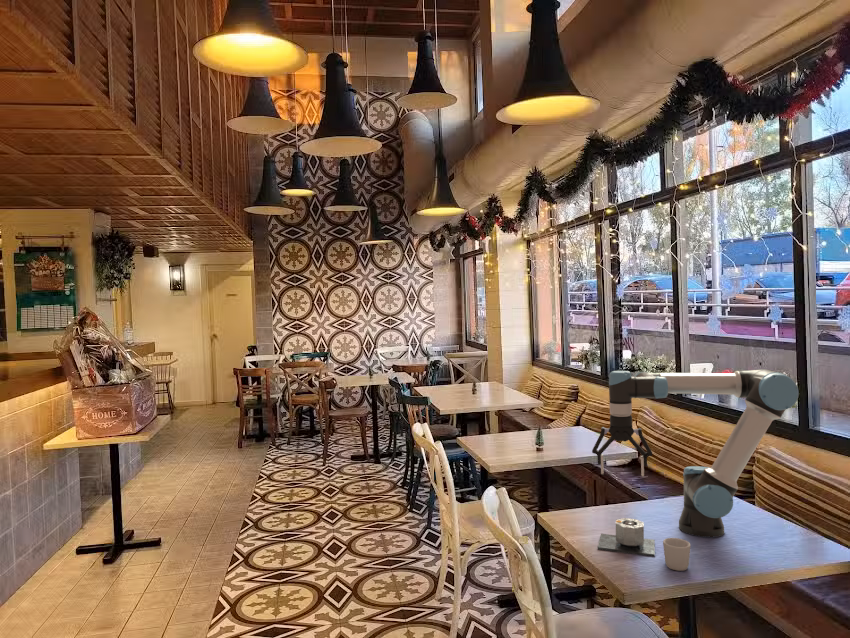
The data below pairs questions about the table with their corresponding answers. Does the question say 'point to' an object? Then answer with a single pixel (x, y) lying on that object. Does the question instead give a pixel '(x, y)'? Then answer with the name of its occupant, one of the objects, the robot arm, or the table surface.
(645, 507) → the table surface
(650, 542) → the plate with peg
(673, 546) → the cup
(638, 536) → the ring
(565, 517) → the table surface
